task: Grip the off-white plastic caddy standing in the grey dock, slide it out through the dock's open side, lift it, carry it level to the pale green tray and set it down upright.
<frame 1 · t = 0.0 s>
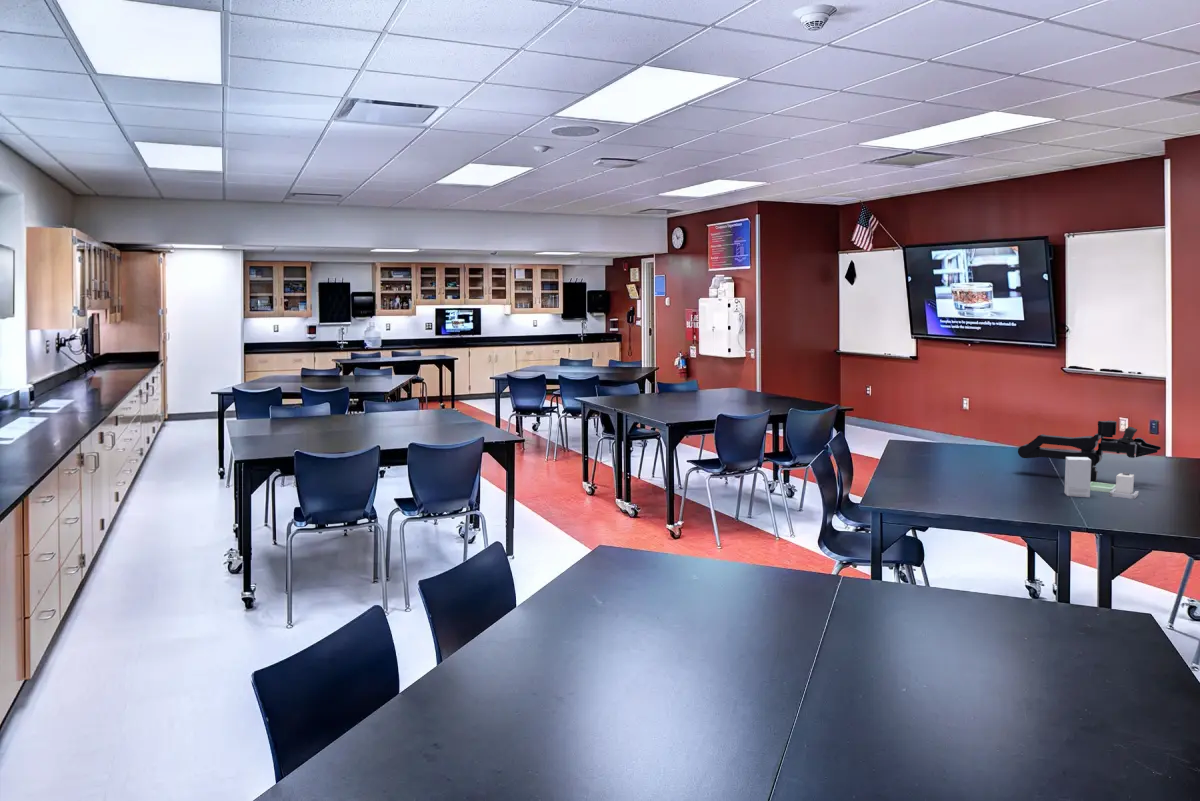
hand: (1159, 449, 345), 17 cm above the table, tool horizontal, fingers open, 9 cm apart
dock: (1123, 496, 333), on the table
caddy: (1124, 495, 333), point 1 cm above the table, touching dock
tray: (1101, 490, 345), on the table
skincare box: (1076, 496, 334), on the table
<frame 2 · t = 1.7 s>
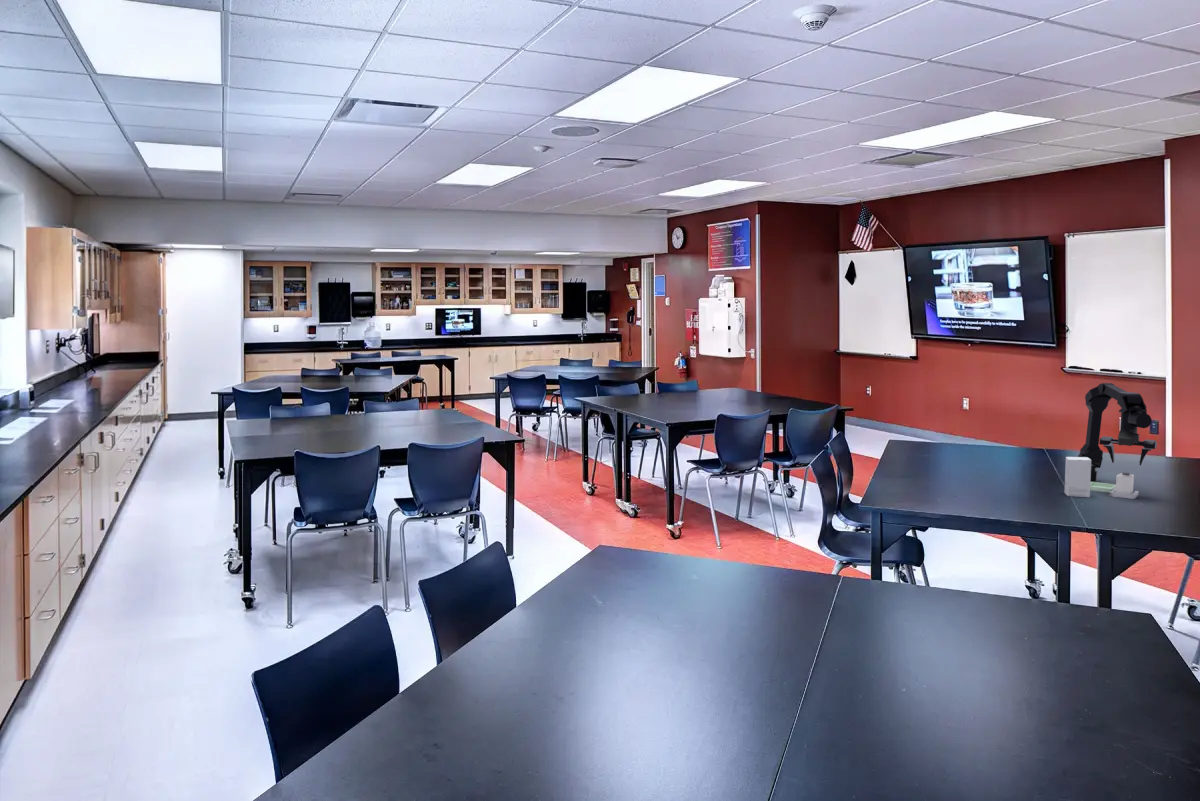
hand: (1126, 464, 332), 13 cm above the table, tool pointing down, fingers open, 9 cm apart
nothing on the table moved.
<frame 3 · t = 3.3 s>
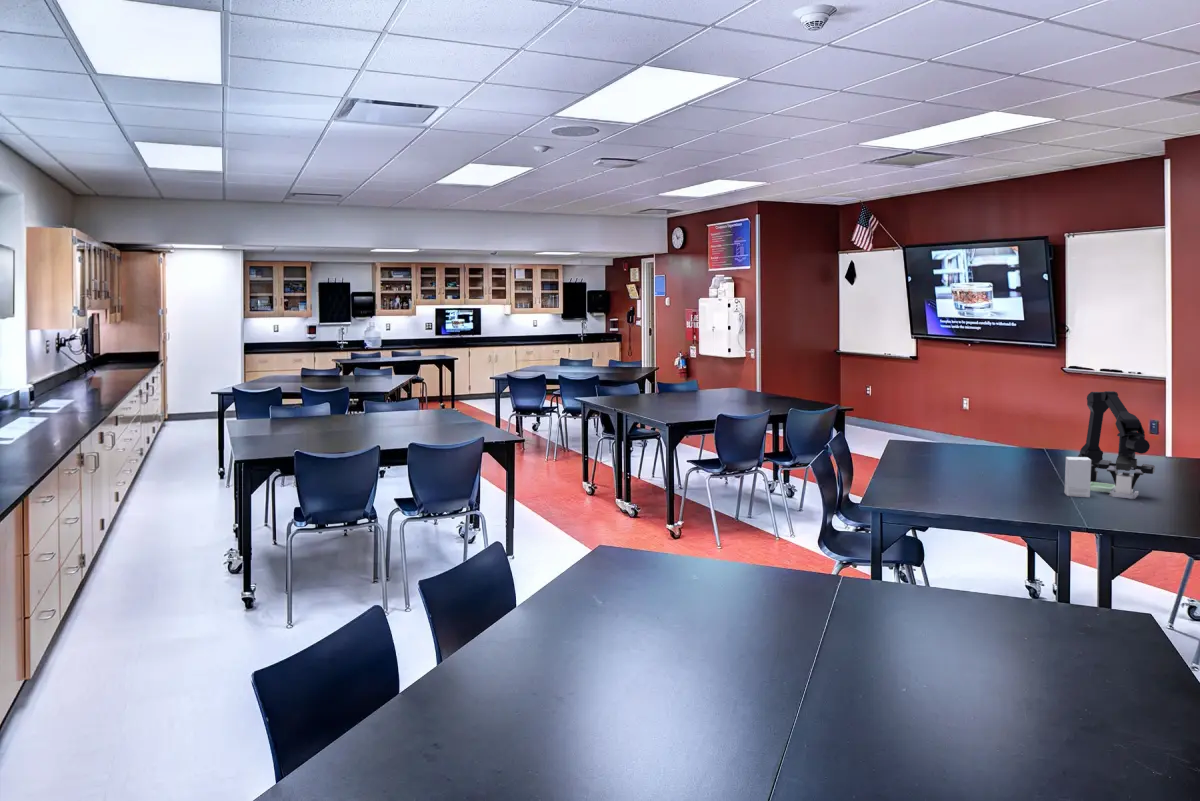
hand: (1124, 488, 333), 3 cm above the table, tool pointing down, fingers closed on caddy, 5 cm apart
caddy: (1124, 495, 333), point 1 cm above the table, touching dock, gripper
everything else where it was.
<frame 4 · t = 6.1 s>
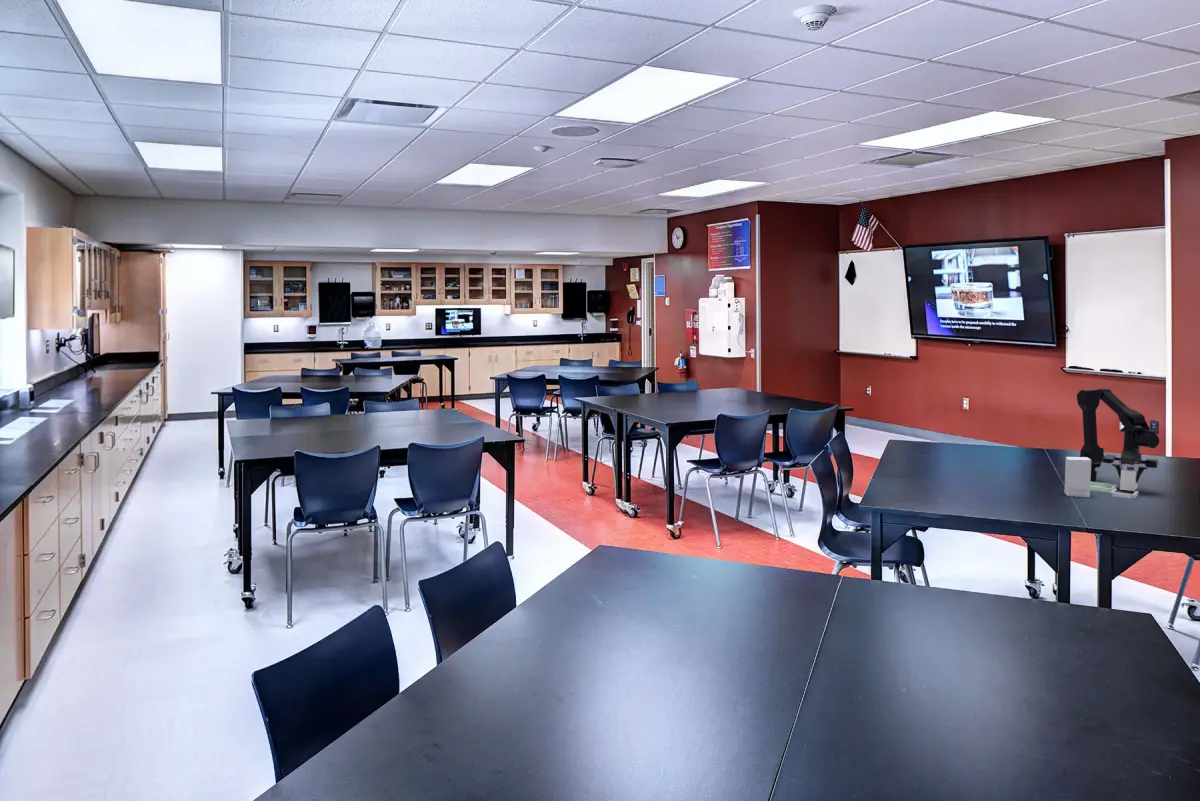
hand: (1128, 482, 341), 4 cm above the table, tool pointing down, fingers closed on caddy, 5 cm apart
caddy: (1128, 488, 342), point 1 cm above the table, touching gripper
everything else where it was.
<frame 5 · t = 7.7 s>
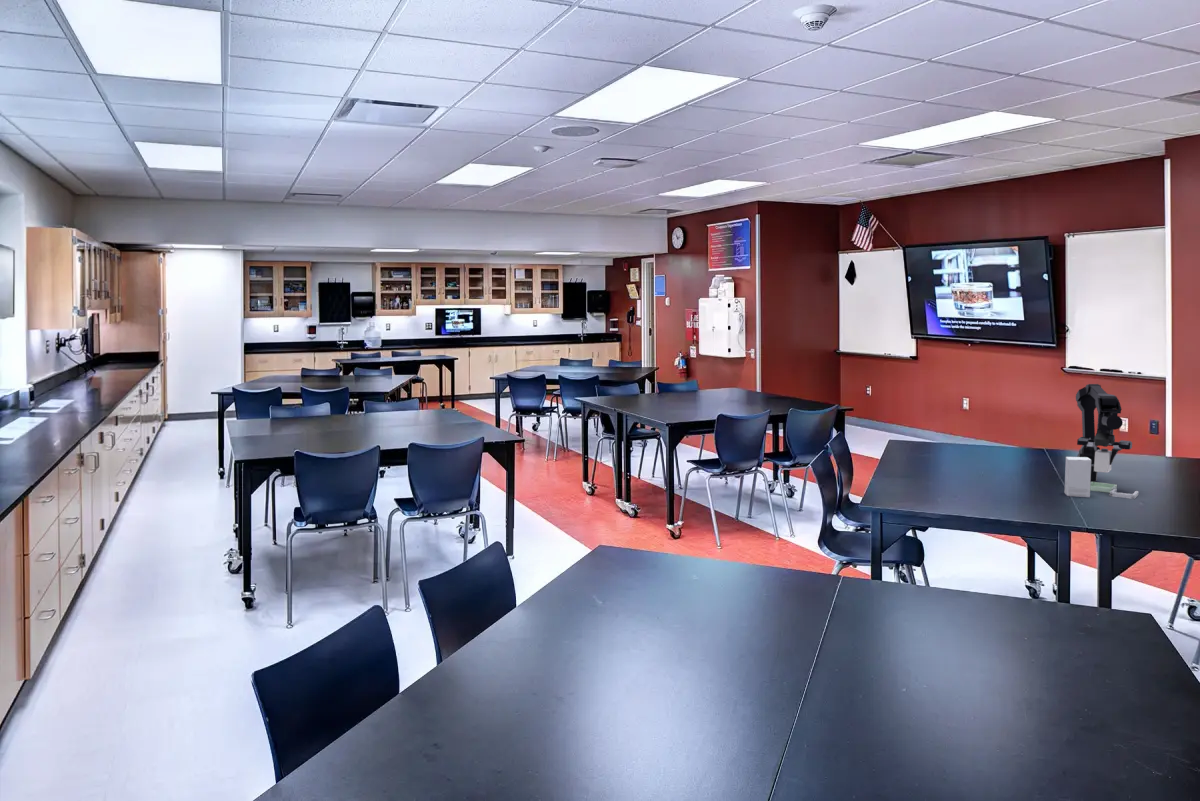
hand: (1103, 463, 343), 11 cm above the table, tool pointing down, fingers closed on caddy, 5 cm apart
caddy: (1102, 470, 344), point 8 cm above the table, touching gripper
everything else where it was.
when the fingers open (5 cm above the table, at t = 9.1 s): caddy drops 1 cm, resting on tray.
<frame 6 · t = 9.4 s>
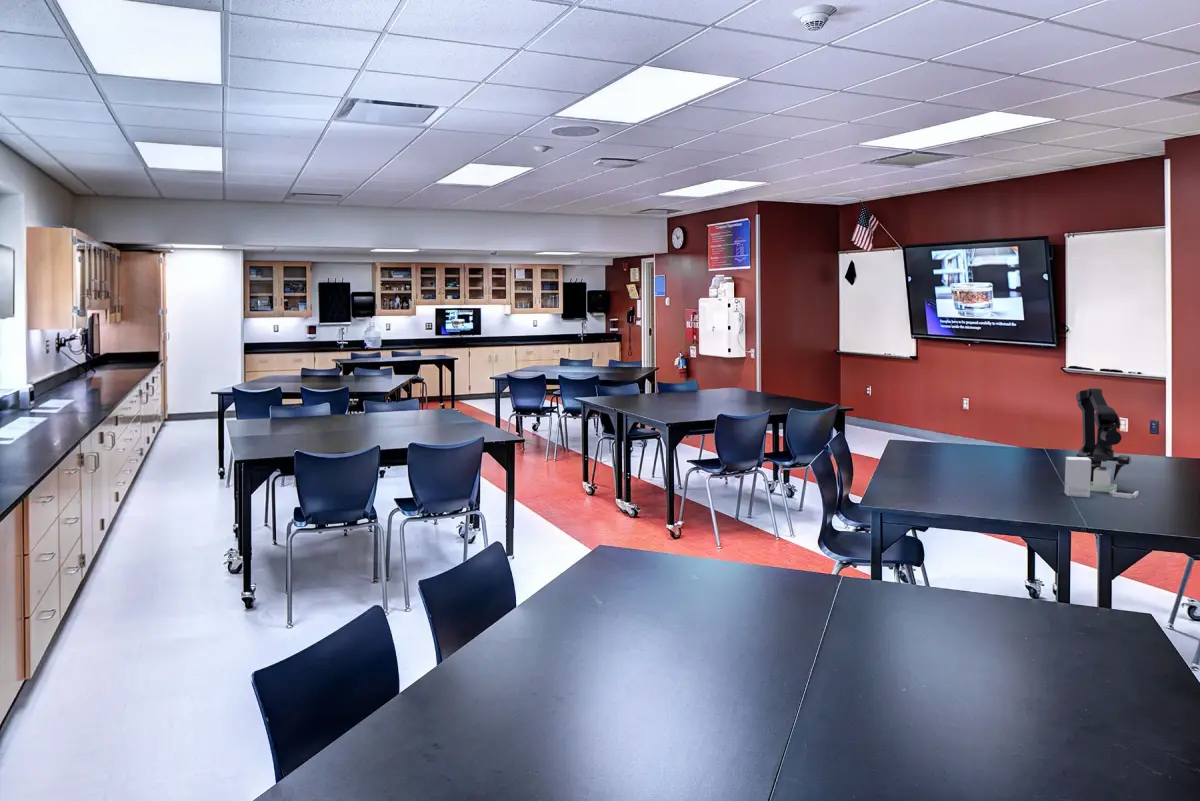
hand: (1102, 478, 344), 5 cm above the table, tool pointing down, fingers open, 8 cm apart
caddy: (1101, 488, 344), point 1 cm above the table, touching tray
everything else where it was.
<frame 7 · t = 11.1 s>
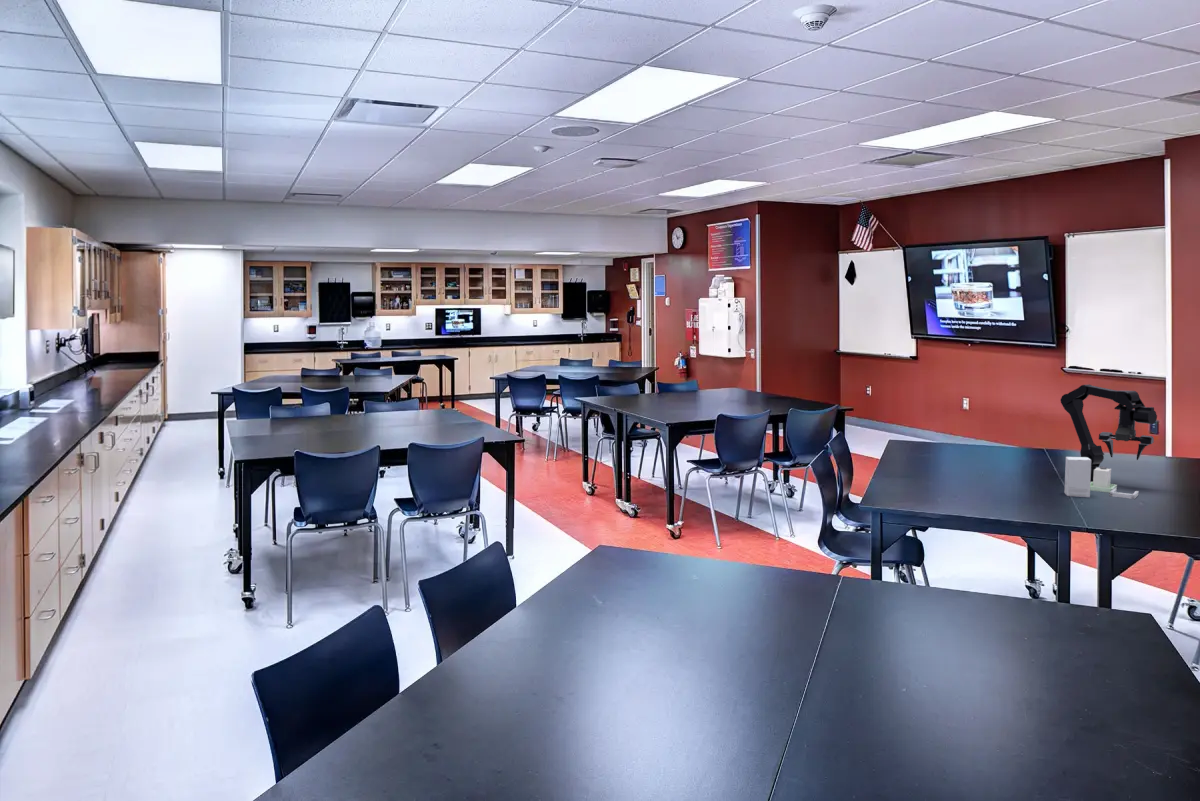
hand: (1124, 458, 348), 12 cm above the table, tool pointing down, fingers open, 9 cm apart
nothing on the table moved.
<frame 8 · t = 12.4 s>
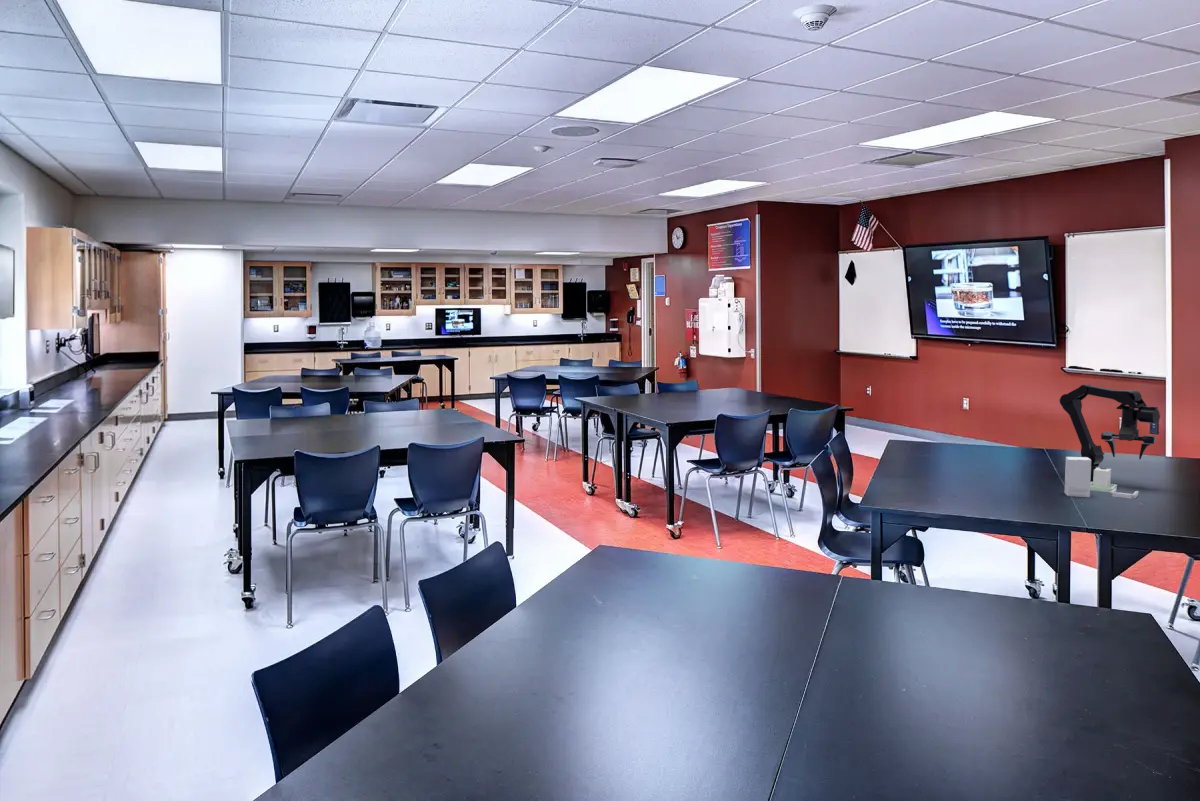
hand: (1126, 458, 348), 12 cm above the table, tool pointing down, fingers open, 9 cm apart
nothing on the table moved.
at the end: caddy inside the target area on the tray (0.0 cm from its centre), point 0.8 cm above the tray's base; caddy tilted 0°; the gripper is holding nothing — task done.
